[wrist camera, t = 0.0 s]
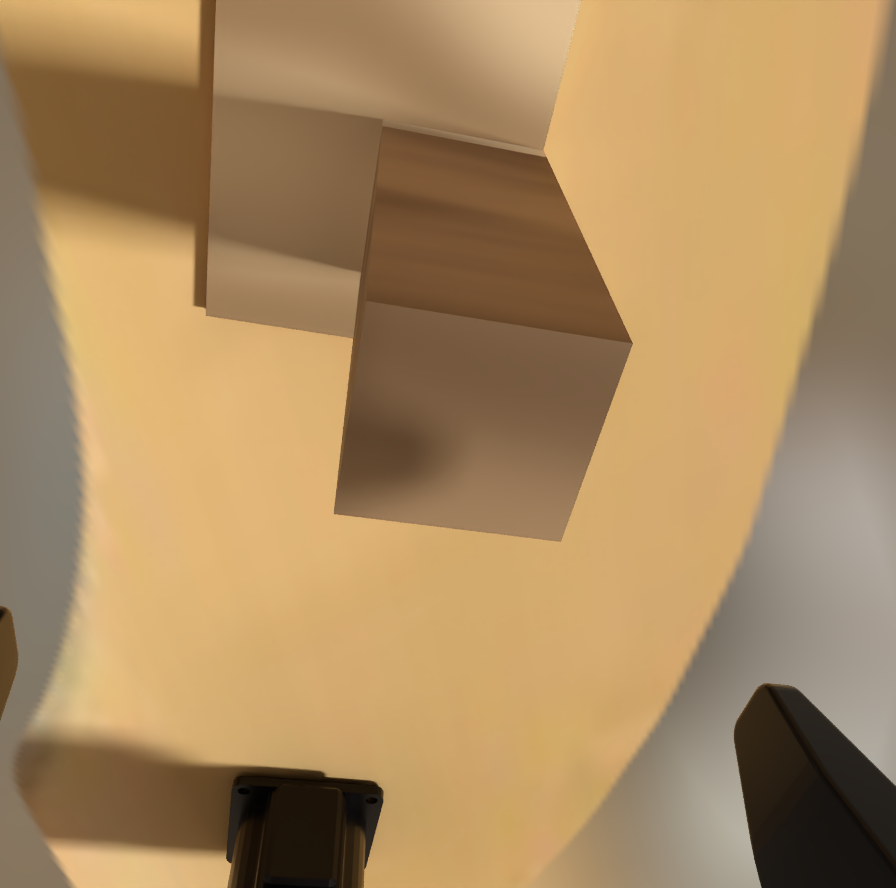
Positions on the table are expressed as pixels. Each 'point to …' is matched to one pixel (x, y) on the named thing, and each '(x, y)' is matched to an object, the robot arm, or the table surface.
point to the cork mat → (350, 130)
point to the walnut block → (474, 342)
